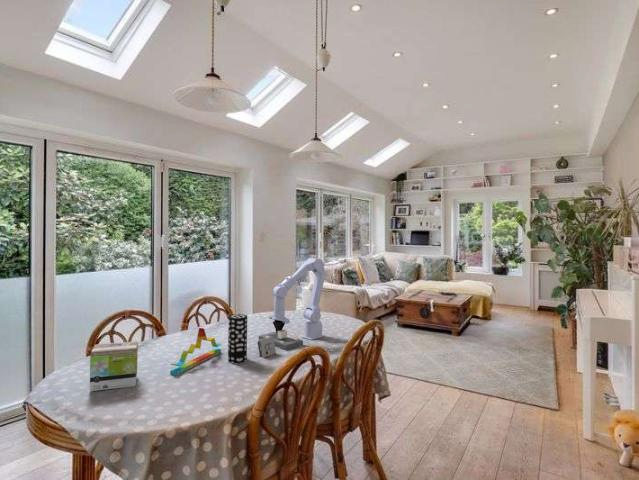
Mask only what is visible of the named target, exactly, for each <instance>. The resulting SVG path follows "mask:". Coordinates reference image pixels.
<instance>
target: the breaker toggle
mask: <svg viewBox="0 0 639 480" xmlns="http://www.w3.org/2000/svg"><path fill="white" fill-rule="evenodd" d="M287 335H288V330H286V329H282V330H280V331H278V338H280V339H283V338H287Z"/></svg>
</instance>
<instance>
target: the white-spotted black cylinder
mask: <svg viewBox="0 0 639 480" xmlns="http://www.w3.org/2000/svg"><path fill="white" fill-rule="evenodd" d="M227 328H228V329H227V330H228V334H227V337H228V338H227V343H228V344H227V362H229V363H230V364H243V363H245V362H247V359H248V315H247V314H241V313H240V314H239V313H237V314H230V315H228V326H227Z"/></svg>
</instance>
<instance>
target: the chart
mask: <svg viewBox="0 0 639 480" xmlns="http://www.w3.org/2000/svg"><path fill="white" fill-rule="evenodd" d="M202 341H206V342H207V341H208V342H210V343H211V346H212V347H213V348H214V349H211V350H209V351H208V352H206V353H204V354H203V353H202V355H199V356H197V357H195V358H193V359H191V360H189V361H187V362H185V361H186V360H187V356H188V354H194V352H195V349H201V347H202ZM220 346H221V343H217V342H216V339H215V337H210V336H209V337H207V334H206V331H205V328H203V327H198V332H197V337H196V341H195V344H194V343H191V344H190V346H189V348H188V350H183V351H182V353H181V354H180V359H179V360H178V362H177V363H175V364H174V363H170V365H171V366H176V367H175V368H172V369H170V376H175V377H176V376H178V375H180V374H182V373H184V372H186V371H188V370H190V369H192V368H194V367H195V366H198V365H200V364H202V363H204V362H206V361H208V360H209V359H211V358H213V357H215V356H217V355H219V354H222V349H221V348H219V347H220Z"/></svg>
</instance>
